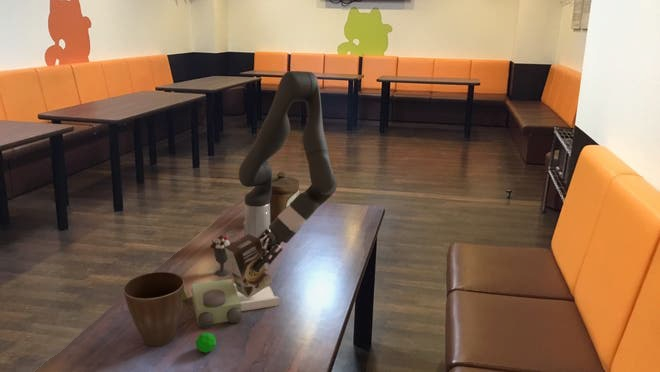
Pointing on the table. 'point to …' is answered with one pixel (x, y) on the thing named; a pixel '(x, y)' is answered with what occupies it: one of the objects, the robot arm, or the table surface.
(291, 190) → the wooden container
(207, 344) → the polyhedron
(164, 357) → the table surface
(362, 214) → the table surface
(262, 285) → the coffee box
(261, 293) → the toy front loader
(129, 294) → the plant pot
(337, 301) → the table surface
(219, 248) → the sundae
